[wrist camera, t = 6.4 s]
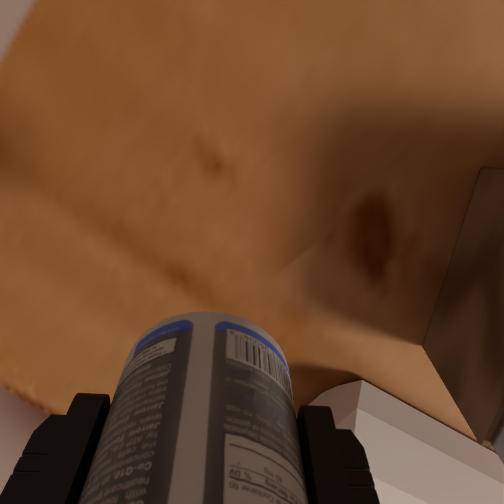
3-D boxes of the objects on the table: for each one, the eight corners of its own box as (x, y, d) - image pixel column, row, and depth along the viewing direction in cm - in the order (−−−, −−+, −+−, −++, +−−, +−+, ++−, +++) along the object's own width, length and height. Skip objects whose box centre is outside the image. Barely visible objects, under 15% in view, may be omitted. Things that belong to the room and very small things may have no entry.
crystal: (639, 532, 29) (369, 383, 22) (600, 639, 28) (305, 517, 21) (535, 475, 36) (307, 350, 29) (501, 559, 35) (256, 448, 28)
